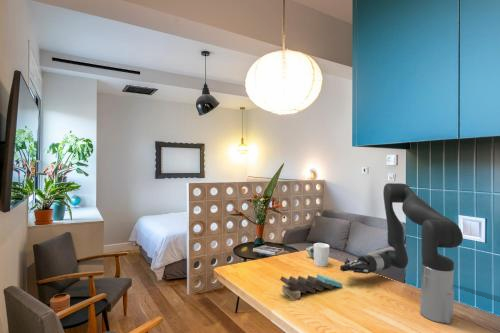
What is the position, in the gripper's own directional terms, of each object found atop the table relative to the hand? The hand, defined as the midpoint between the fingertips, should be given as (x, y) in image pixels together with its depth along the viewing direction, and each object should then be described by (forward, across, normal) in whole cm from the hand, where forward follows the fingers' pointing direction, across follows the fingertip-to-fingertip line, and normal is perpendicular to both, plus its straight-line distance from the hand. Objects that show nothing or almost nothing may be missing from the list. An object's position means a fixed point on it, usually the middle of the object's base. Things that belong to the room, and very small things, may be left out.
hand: (341, 268), depth 127 cm
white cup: (-8, -23, +7) cm, 26 cm away
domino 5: (+2, 0, +6) cm, 6 cm away
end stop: (+25, 0, +7) cm, 26 cm away
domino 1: (+20, 0, +6) cm, 21 cm away
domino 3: (+11, 0, +6) cm, 13 cm away
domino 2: (+16, 0, +6) cm, 17 cm away
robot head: (-10, -32, +7) cm, 35 cm away
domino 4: (+6, 0, +6) cm, 9 cm away
